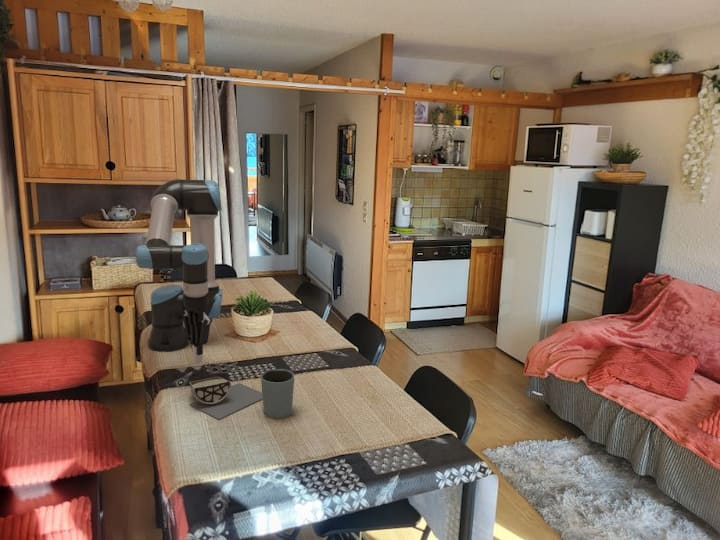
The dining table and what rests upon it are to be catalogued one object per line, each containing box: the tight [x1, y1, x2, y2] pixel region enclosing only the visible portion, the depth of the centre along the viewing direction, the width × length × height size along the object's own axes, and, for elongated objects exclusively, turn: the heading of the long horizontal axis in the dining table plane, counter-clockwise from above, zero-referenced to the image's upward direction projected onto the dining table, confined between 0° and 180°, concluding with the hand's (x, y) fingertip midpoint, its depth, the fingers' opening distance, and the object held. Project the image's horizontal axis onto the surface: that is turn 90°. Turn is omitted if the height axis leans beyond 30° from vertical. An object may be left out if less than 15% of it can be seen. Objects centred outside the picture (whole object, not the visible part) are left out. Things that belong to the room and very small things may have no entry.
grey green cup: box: [260, 368, 295, 420], centre depth 163 cm, size 10×10×12 cm
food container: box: [188, 376, 232, 404], centre depth 168 cm, size 12×6×10 cm
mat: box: [188, 382, 263, 421], centre depth 169 cm, size 14×20×1 cm
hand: (197, 362), depth 175 cm, fingers closed
